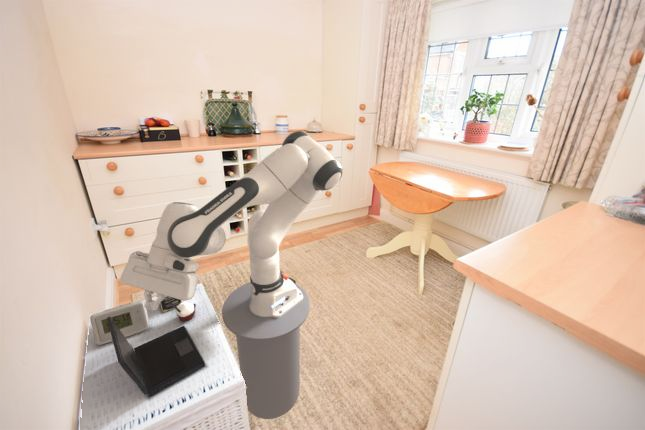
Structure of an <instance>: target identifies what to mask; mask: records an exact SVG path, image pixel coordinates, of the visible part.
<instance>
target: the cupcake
mask: <svg viewBox="0 0 645 430" xmlns="http://www.w3.org/2000/svg"><path fill="white" fill-rule="evenodd" d="M169 303H170V304H171V305H172V306H173V307H174V310H175V313H176V316H177V318H178V319H179V321H181V322H188V321H189V322H190V321H191V320H192V319H193V318H194V317H195V313H196V307H197V304H196V303H191V302H188V301H182V303H180V304H179V305H178V306H177V307H176V306H175V305H174V304H173V303H172V302H170V301H169Z"/></svg>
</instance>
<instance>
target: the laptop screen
mask: <svg viewBox="0 0 645 430" xmlns="http://www.w3.org/2000/svg"><path fill="white" fill-rule="evenodd" d="M107 320H108V324H109V328H110V332H111V336H112V340H113V342H112V344H113V348H114V351H115V356H116V360H117V364H119V366H120V367H121V368H122V369H123V371H124V372H125V373H126V374H127V375H128V377H129V378H130V379H131V380H132V382H133V383H134V384H135V385H136V387H137V388H138V389H139V390H140V392H141V393H142V394H143V396H147V395H149V394H148V391H147V388H146V385H145V382H144V379H143V376H142V372H141V369H140V366H139V363H138V360H137V357H136V354H135V351H134V347H133V346H132V344H131V343H130V342H129V340H128V339H127V337H125V336H124V335H123V334H122V332H121V331H120V330H119V328H118V327H117V326H116V324H115V323H114V321H113V320H112V319H111V317H110V316H109V317H107Z"/></svg>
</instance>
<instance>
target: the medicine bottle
mask: <svg viewBox="0 0 645 430" xmlns="http://www.w3.org/2000/svg"><path fill="white" fill-rule="evenodd" d="M169 301H170V302H172V303H173V304H174V305H175V306H176V307H177V306H178V305H179V304H180V303H182V302H183V300H179V299H176V298H172V297H169V296H166V297H165V298H164V299H163V300H162V301H161V302H160V303H159V306H160V307H161V311H162V312H163V313H166V312H168V311H170V310H173V309H174V310H175V308H174V307H173V306H172V305H171V304H170V303H169Z"/></svg>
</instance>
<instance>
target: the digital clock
mask: <svg viewBox="0 0 645 430" xmlns="http://www.w3.org/2000/svg"><path fill="white" fill-rule="evenodd" d="M145 302H146V301H145V300H138V301H135V302H130V303H126V304H123V305H119V306H116V307H112V308H108V309H105V310H104V311H100V312H96V313H93V314H91V315H90V316H89V320H90V324H91V328H92V332H93V336H94V339H95V343H96V345H98V346H101V345H105V344H108V343H113V340H112V336H111V332H110V328H109V324H108V320H107V317H109V316H110V317H111V319H112V320H113V321H114V323H115V324H116V326H117V327H118V328H119V330H120V331H121V332H122V334H123V335H124V336H125V338H128V337H131V336H134V335H137V334H140V333H141V332H144V331H147V330H149V329H150V328H151V322H150V319H149V314H148V310H147V308H146V307H144V305H145Z"/></svg>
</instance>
